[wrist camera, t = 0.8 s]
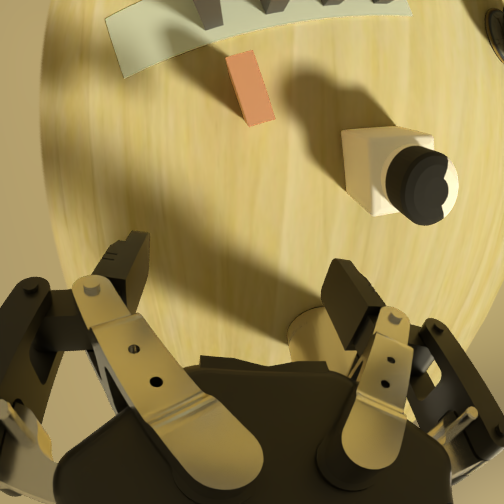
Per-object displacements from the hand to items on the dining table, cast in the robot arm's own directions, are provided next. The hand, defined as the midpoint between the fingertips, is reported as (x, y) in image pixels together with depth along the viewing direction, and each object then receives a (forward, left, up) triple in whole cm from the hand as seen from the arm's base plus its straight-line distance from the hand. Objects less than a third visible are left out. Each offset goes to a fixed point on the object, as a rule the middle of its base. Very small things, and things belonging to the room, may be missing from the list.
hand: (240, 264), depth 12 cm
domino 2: (+3, -7, -19) cm, 20 cm away
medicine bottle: (-12, -8, -19) cm, 24 cm away
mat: (+6, -18, -19) cm, 27 cm away
